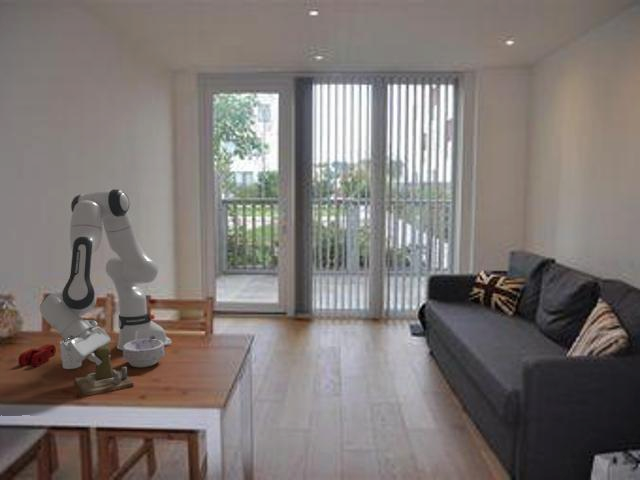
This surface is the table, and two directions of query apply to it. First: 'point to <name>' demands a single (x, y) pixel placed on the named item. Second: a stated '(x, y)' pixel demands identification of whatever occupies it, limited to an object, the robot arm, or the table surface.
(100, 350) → the olive brown peg
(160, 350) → the paper bowls
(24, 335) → the table surface
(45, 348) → the mechanical linkage
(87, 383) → the peg board
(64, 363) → the white cup
